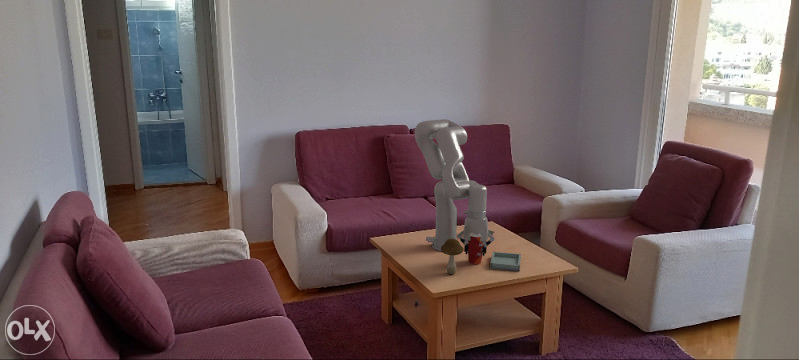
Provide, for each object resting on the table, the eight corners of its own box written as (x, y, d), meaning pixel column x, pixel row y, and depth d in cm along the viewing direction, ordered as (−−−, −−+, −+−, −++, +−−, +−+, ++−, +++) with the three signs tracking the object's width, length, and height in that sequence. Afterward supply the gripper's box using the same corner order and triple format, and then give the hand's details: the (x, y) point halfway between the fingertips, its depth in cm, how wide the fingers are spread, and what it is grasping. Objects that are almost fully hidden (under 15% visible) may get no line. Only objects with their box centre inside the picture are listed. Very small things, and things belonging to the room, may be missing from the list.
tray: (490, 268, 244) (490, 263, 243) (492, 256, 257) (492, 251, 256) (519, 271, 241) (519, 265, 240) (520, 259, 254) (520, 253, 254)
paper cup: (483, 266, 246) (484, 234, 243) (465, 264, 248) (466, 233, 245) (484, 259, 254) (485, 228, 251) (466, 257, 255) (468, 227, 252)
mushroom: (462, 268, 244) (463, 234, 240) (462, 279, 233) (464, 243, 229) (440, 267, 244) (441, 233, 241) (439, 278, 233) (440, 242, 230)
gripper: (455, 215, 244) (453, 255, 248) (497, 218, 240) (494, 259, 245) (457, 210, 251) (456, 249, 255) (498, 213, 247) (496, 252, 252)
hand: (475, 253), depth 250 cm, fingers closed on paper cup, 6 cm apart
